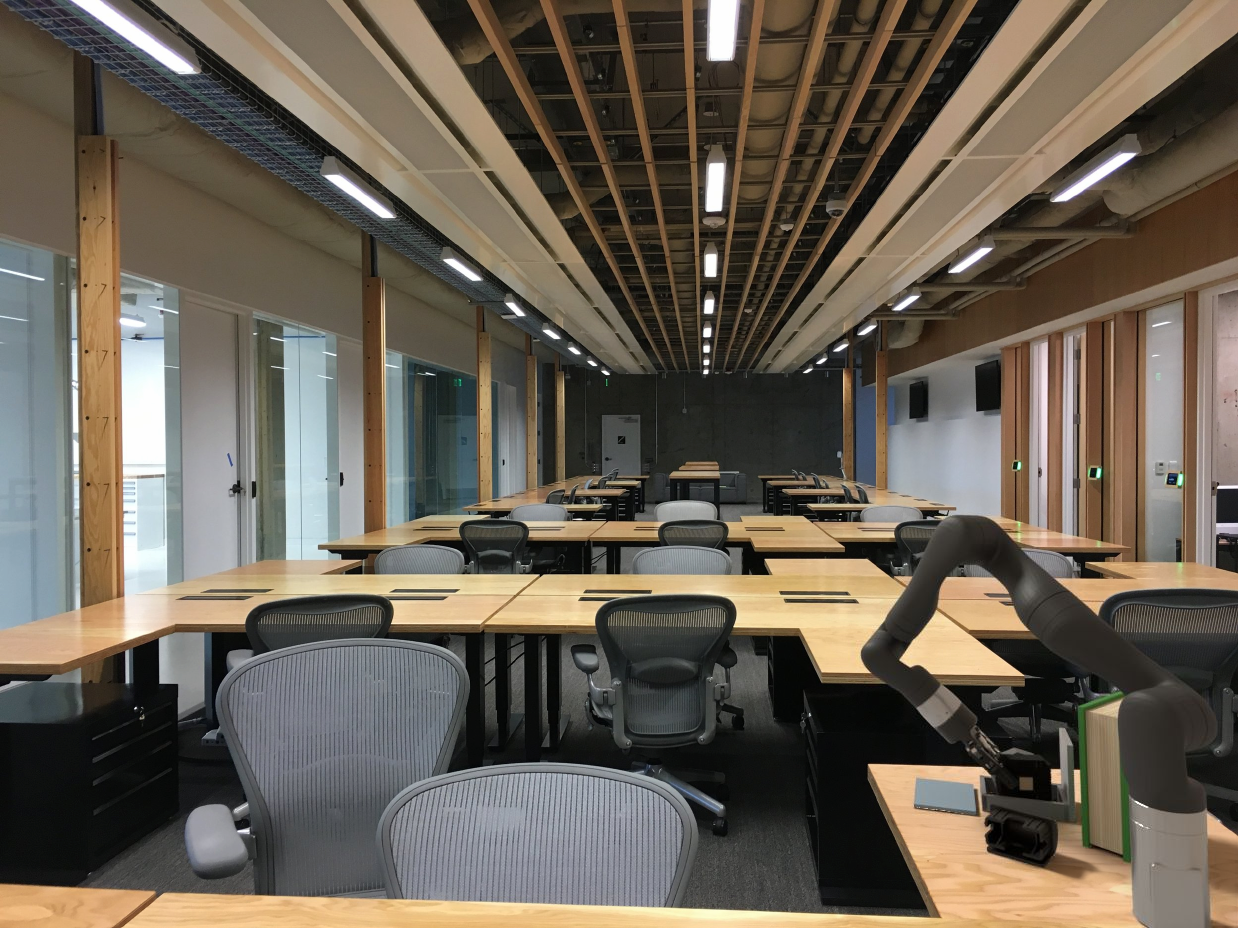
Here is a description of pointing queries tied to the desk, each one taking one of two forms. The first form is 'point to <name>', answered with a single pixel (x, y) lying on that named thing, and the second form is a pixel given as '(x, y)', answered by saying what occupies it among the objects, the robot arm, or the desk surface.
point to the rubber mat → (945, 796)
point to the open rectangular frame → (1060, 792)
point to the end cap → (1021, 835)
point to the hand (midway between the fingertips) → (1013, 779)
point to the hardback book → (1103, 777)
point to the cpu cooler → (1025, 775)
